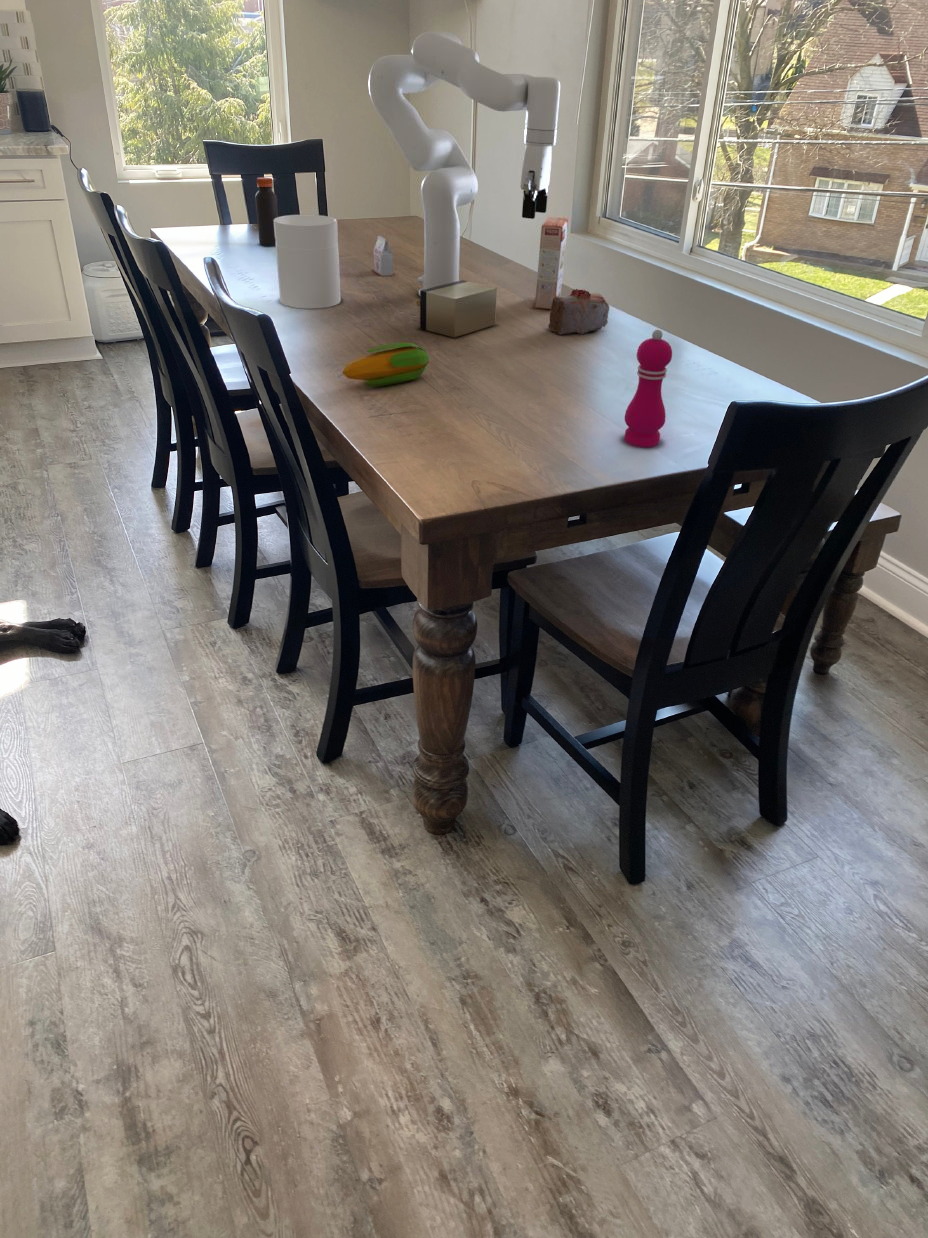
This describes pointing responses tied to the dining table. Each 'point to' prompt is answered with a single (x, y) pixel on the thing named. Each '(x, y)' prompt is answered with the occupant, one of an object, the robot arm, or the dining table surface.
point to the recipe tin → (457, 308)
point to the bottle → (266, 211)
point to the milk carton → (383, 257)
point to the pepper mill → (648, 393)
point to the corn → (389, 365)
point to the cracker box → (551, 261)
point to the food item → (578, 313)
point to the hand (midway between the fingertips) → (534, 214)
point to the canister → (307, 261)
